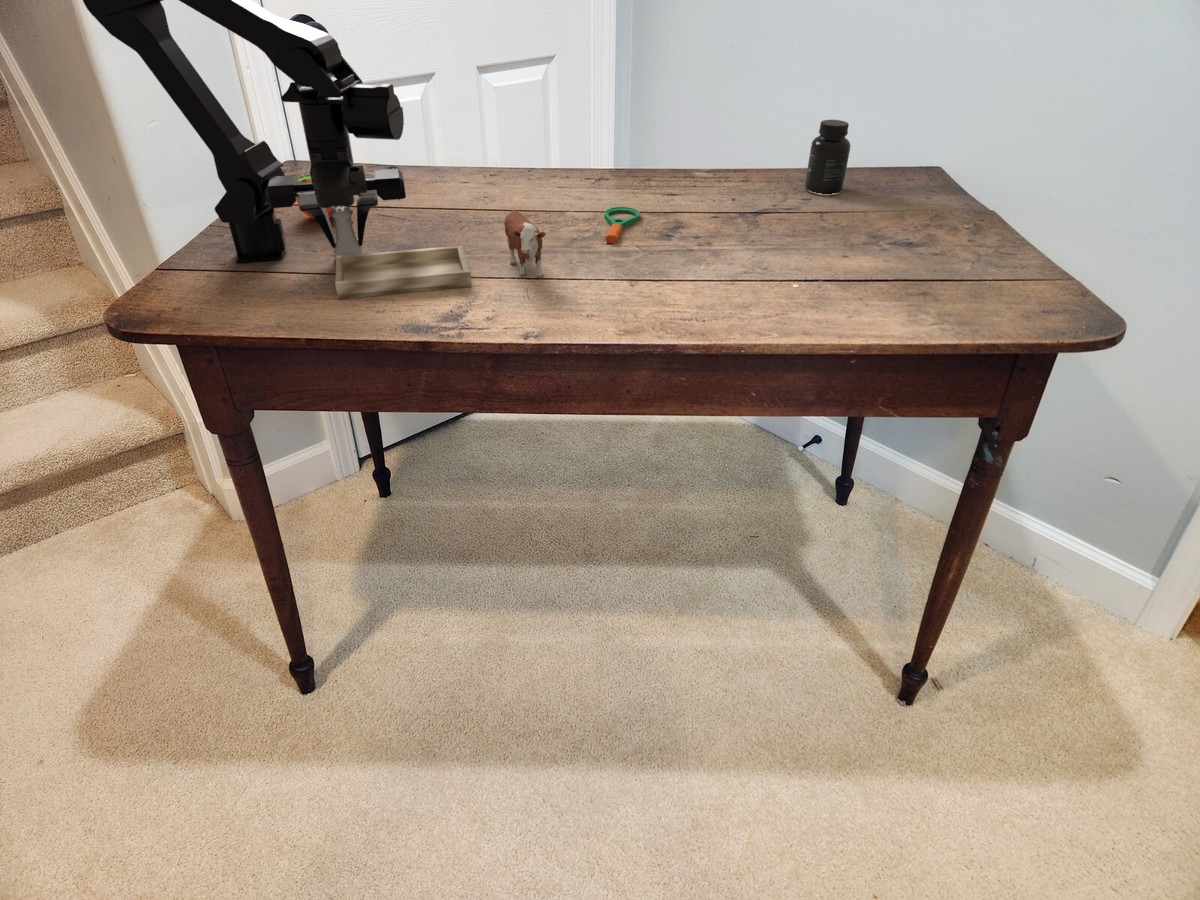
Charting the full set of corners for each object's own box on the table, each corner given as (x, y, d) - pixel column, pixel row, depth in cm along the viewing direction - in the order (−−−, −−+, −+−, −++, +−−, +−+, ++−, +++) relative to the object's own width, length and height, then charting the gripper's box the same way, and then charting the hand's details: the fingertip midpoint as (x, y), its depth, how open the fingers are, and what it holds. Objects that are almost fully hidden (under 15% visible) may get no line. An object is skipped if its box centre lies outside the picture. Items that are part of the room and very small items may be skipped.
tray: (338, 299, 107) (335, 284, 106) (339, 270, 115) (336, 255, 114) (471, 286, 111) (470, 271, 109) (463, 259, 119) (462, 245, 117)
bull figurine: (520, 290, 110) (517, 234, 105) (503, 254, 120) (500, 201, 116) (551, 287, 111) (549, 231, 106) (531, 252, 121) (529, 199, 117)
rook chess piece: (360, 265, 117) (351, 211, 112) (330, 264, 117) (319, 211, 112) (368, 253, 120) (359, 201, 115) (339, 253, 120) (329, 200, 115)
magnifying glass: (607, 212, 137) (607, 202, 136) (642, 214, 137) (642, 205, 136) (592, 244, 125) (592, 233, 124) (629, 247, 124) (630, 236, 123)
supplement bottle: (800, 184, 150) (811, 117, 143) (837, 185, 150) (849, 118, 143) (808, 196, 144) (819, 127, 137) (845, 196, 144) (859, 127, 137)
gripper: (249, 157, 100) (277, 273, 109) (399, 148, 104) (415, 261, 113) (257, 134, 109) (282, 243, 118) (396, 127, 112) (410, 233, 122)
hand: (347, 246), depth 117 cm, fingers closed on rook chess piece, 3 cm apart
